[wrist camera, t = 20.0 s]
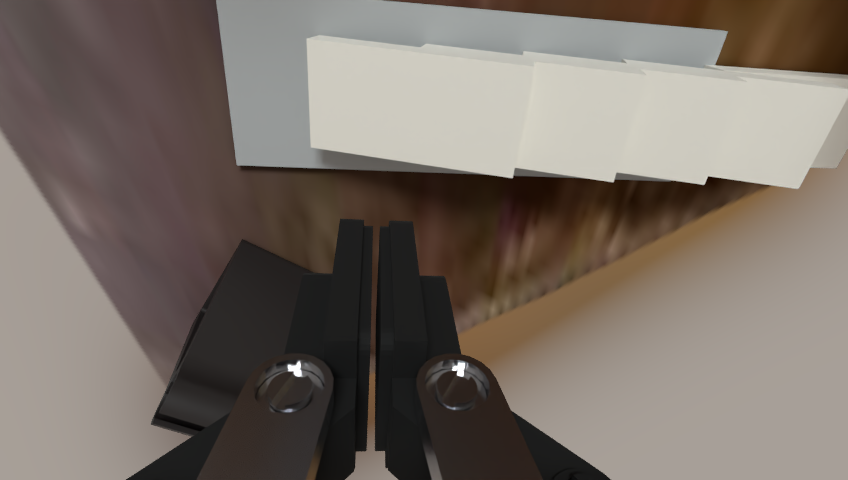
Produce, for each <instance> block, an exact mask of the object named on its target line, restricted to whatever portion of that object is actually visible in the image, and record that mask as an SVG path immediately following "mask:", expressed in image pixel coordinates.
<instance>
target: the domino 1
mask: <svg viewBox="0 0 848 480" xmlns="http://www.w3.org/2000/svg"><path fill="white" fill-rule="evenodd" d="M307 65H308V91H309V117H310V143H311V148H318V149H324V150H331V151H338V152H344V153H351V154H357V155H364V156H370V157H377V158H383V159H390V160H396V161H403V162H409V163H416V164H422V165H429V166H435V167H442V168H448V169H455V170H461V171H468V172H474V173H481V174H487V175H494V176H501V177H507V178H513V175H514V170H515V165H516V159H517V154H518V149H519V144H520V139H521V134H522V129H523V124H524V119H525V114H526V109H527V103H528V98H529V93H530V88H531V83H532V78H533V73H534V68H535V64H534V61H529V60H521V59H512V58H504V57H496V56H488V55H480V54H471V53H463V52H455V51H447V50H438V49H430V48H422V47H414V46H406V45H397V44H389V43H381V42H373V41H364V40H356V39H348V38H340V37H332V36H323V35H318V36H314V37H311V38H307Z"/></svg>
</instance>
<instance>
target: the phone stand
mask: <svg viewBox="0 0 848 480" xmlns="http://www.w3.org/2000/svg"><path fill="white" fill-rule="evenodd" d="M304 273H313V272H311V271H309V270H307V269H305V268H302V267H300V266H298V265H296V264H294V263H292V262H290V261H287V260H285V259H283V258H281V257H279V256H277V255H275V254H273V253H270V252H268V251H266V250H264V249H262V248H260V247H258V246H256V245H253V244H251V243H249V242H247V241H245V240H243V239H242V241H241V243H240V244H239V246H238V248H237V249H236V251H235V253H234V254H233V256H232V258H231V260H230V261H229V263H228V265H227V266H226V268H225V270H224V271H223V273H222V275H221V276H220V278H219V280H218V282H217V284H216V285H215V287H214V288H213V290H212V292H211V293H210V295H209V297H208V299H207V300H206V302H205V304H204V305H203V307H202V309H201V310H200V312H199V314H198V316H197V317H196V319H195V321H194V322H193V324H192V327H191V329H190V331H189V334H188V336H187V339H186V341H185V344H184V346H183V349H182V351H181V354H180V356H179V359H178V361H177V364H176V366H175V369H174V371H173V374H172V376H171V379H170V381H169V384H168V386H167V389H166V391H165V393H164V396H163V398H162V400H161V402H160V404H159V407H158V408H157V410H156V412H155V415H154V417H153V419H152V422H151V425H154V426H158V427H161V428H164V429H168V430H171V431H175V432H178V433H182V434H185V435H189V436H192V437H193V436H194V435H196V434H197V433H199V432H200V431H202V430H203V429H205V428H206V427H208V426H210V425H211V424H213V423H214V422H216V421H217V420H219V419H220V418H222V417H223V416H225V415H226V414H228V413H230V412H231V410H232V408H233V406H234V404H235V402H236V400H237V398H238V396H239V394H240V392H241V391H242V389H243V387H244V385H245V383H246V381H247V379H248V378H249V376H250V375H251V373H252V372H253V371H254V370H255V369H256V368H257V367H258V366H260V365H261V364H262V363H263V362H265V361H267V360H269V359H272V358H274V357H276V356H280V355H284V352H285V348H286V344H287V339H288V335H289V331H290V327H291V322H292V318H293V314H294V309H295V305H296V301H297V297H298V292H299V288H300V284H301V280H302V276H303V274H304Z"/></svg>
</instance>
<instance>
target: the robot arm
mask: <svg viewBox="0 0 848 480" xmlns="http://www.w3.org/2000/svg"><path fill="white" fill-rule="evenodd" d="M372 240H373V226H364V220H355V219H340V224H339V231H338V239H337V246H336V253H335V260H334V267H333V274H322V273H304V274H303V276H302V280H301V284H300V288H299V292H298V297H297V301H296V305H295V309H294V314H293V318H292V322H291V327H290V331H289V335H288V339H287V344H286V348H285V352H284V355H280V356H276V357H274V358H272V359H269V360H267V361H265V362H263V363H262V364H261V365H260V366H258V367H257V368H256V369H255V370H254V371H253V372H252V373H251V375H250V376H249V378H248V379H247V381H246V383H245V385H244V387H243V389H242V391H241V392H240V394H239V396H238V398H237V400H236V402H235V404H234V406H233V408H232V410H231V412H230V413H228V414H226V415H225V416H223V417H222V418H220V419H219V420H217V421H216V422H214V423H213V424H211V425H210V426H208V427H206V428H205V429H203V430H202V431H200V432H199V433H197V434H196V435H194V436H193V437H191V438H189V439H188V440H186V441H185V442H183V443H182V444H180V445H179V446H177V447H176V448H174V449H173V450H171V451H169V452H168V453H166V454H165V455H163V456H162V457H160V458H159V459H157V460H156V461H154V462H153V463H151V464H150V465H148V466H146V467H145V468H143V469H142V470H140V471H139V472H137V473H136V474H134V475H133V476H131V477H129V478H128V479H126V480H345V479H346V478H347V477H348V476H349V475H350V474H351V473H352V472H354V469H355V453H356V451H366V446H367V420H368V395H369V368H370V339H371V291H372ZM375 374H376V376H375V378H376V379H375V382H376V383H375V451H385V465H386V466H385V467H386V468H388V471H390V472H391V473H392V474H393V475H394V476H395V477H396V478H397V479H398V480H610V479H609V478H608V477H607V476H606V475H605V474H603V473H602V472H601V471H599V470H598V469H596V468H595V467H593V466H592V465H590V464H589V463H587V462H586V461H585V460H583V459H581V458H580V457H578V456H577V455H576V454H574V453H573V452H571V451H570V450H568V449H567V448H565V447H564V446H562V445H561V444H560V443H558V442H556V441H555V440H554V439H552V438H551V437H549V436H548V435H546V434H545V433H543V432H542V431H540V430H539V429H537V428H536V427H534V426H533V425H532V424H530V423H529V422H527V421H526V420H524V419H523V418H521V417H520V416H518V415H517V414H515V413H514V412H512V411H511V410H510V408H509V405H508V403H507V401H506V399H505V397H504V395H503V392H502V390H501V388H500V386H499V384H498V382H497V380H496V378H495V376H494V375H493V374H492V372H491V370H490V369H489V368H488V367H486V366H485V365H484V364H483V363H482V362H480V361H478V360H476V359H474V358H472V357H470V356H466V355H461V351H460V346H459V341H458V336H457V331H456V327H455V322H454V317H453V312H452V307H451V302H450V297H449V293H448V288H447V283H446V279H445V277H444V276H419V268H418V260H417V252H416V244H415V236H414V228H413V222H411V221H389V227H382V226H380V240H379V262H378V284H377V307H376V371H375Z"/></svg>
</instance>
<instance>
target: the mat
mask: <svg viewBox="0 0 848 480" xmlns="http://www.w3.org/2000/svg"><path fill="white" fill-rule="evenodd" d="M216 2H217V10H218V18H219V27H220V35H221V43H222V51H223V59H224V67H225V75H226V83H227V91H228V99H229V107H230V115H231V123H232V131H233V139H234V147H235V155H236V163H237V165H243V166H270V167H297V168H323V169H350V170H377V171H403V172H430V173H456V174H481V173H474V172H468V171H461V170H455V169H448V168H442V167H435V166H429V165H422V164H416V163H409V162H403V161H396V160H390V159H383V158H377V157H370V156H364V155H357V154H351V153H344V152H338V151H331V150H324V149H318V148H311V143H310V117H309V91H308V65H307V38H311V37H314V36H318V35H323V36H332V37H340V38H348V39H356V40H364V41H373V42H381V43H389V44H397V45H406V46H414V47H422V46H423V45H425V44H434V45H442V46H451V47H459V48H467V49H476V50H484V51H492V52H501V53H509V54H517V55H522V54H523V51H528V52H537V53H545V54H554V55H562V56H571V57H579V58H587V59H596V60H604V61H613V62H622V59H627V60H635V61H644V62H653V63H661V64H670V65H678V66H687V67H696V68H704V66H705V65H714V66H715V64H716V61H717V59H718V56H719V54H720V51H721V48H722V46H723V43H724V41H725V38H726V35H727V33H728V31H722V30H711V29H700V28H688V27H677V26H666V25H655V24H643V23H632V22H621V21H610V20H598V19H587V18H576V17H564V16H553V15H542V14H531V13H519V12H508V11H497V10H486V9H474V8H463V7H452V6H440V5H429V4H418V3H407V2H395V1H384V0H216ZM483 175H487V174H483ZM513 176H536V177H563V178H580V177H574V176H567V175H560V174H554V173H547V172H541V171H534V170H527V169H521V168H515V170H514V175H513ZM615 179H616V180H643V181H669V182H671V180H666V179H660V178H653V177H646V176H639V175H632V174H625V173H618V172H617V173H616V176H615Z"/></svg>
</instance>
